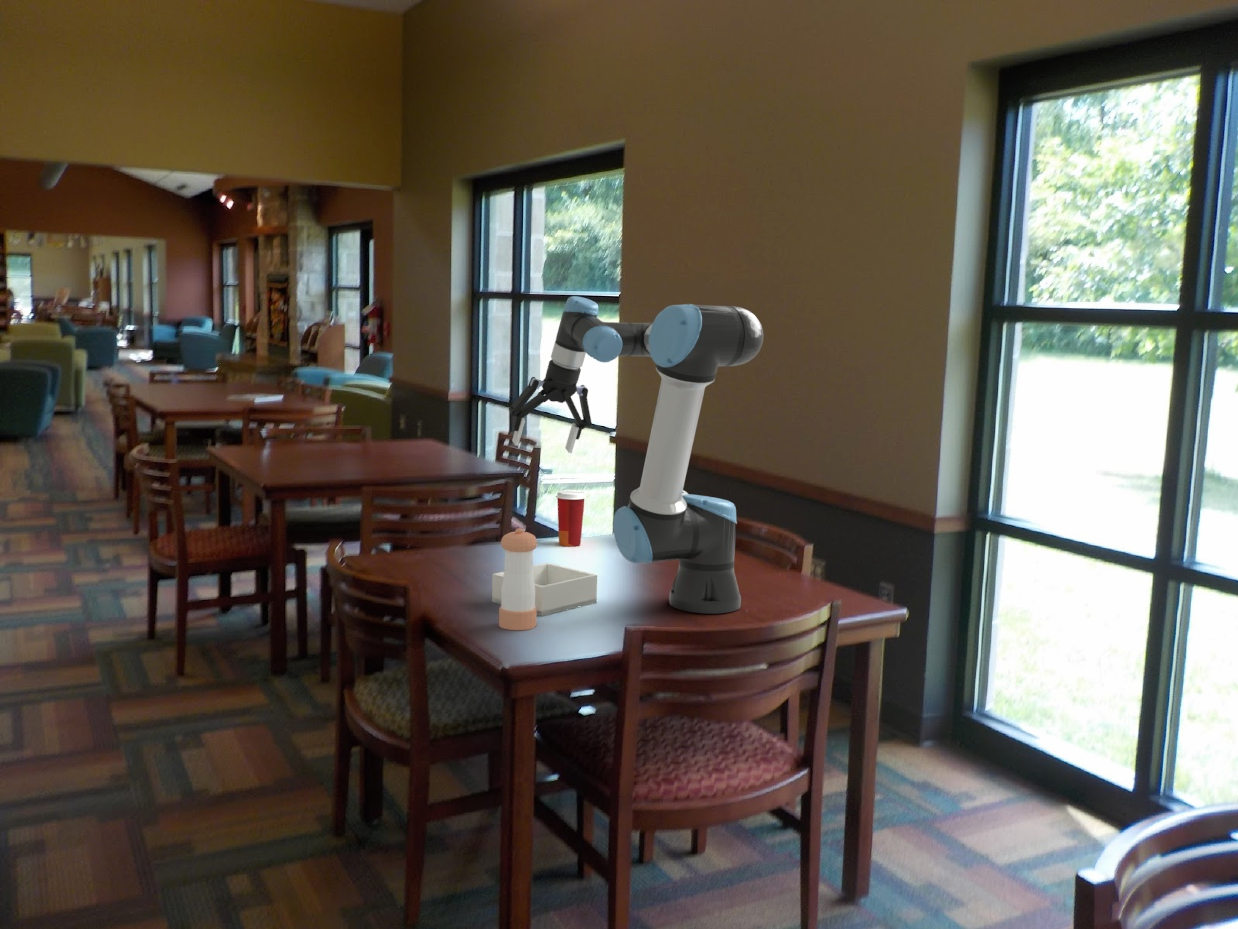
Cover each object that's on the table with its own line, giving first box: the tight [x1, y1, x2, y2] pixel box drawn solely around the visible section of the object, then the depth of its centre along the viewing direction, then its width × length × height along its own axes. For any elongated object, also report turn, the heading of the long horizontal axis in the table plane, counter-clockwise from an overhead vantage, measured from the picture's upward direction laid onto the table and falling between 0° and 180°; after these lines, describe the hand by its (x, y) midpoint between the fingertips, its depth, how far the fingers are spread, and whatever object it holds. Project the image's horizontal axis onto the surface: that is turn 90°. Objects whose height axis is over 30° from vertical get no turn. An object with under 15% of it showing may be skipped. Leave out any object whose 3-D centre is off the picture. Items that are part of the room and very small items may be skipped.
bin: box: [491, 562, 598, 617], centre depth 238 cm, size 15×16×6 cm
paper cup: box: [555, 489, 586, 548], centre depth 297 cm, size 8×8×14 cm
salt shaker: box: [498, 528, 538, 631], centre depth 219 cm, size 7×7×19 cm
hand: (542, 447), depth 267 cm, fingers open, 13 cm apart
